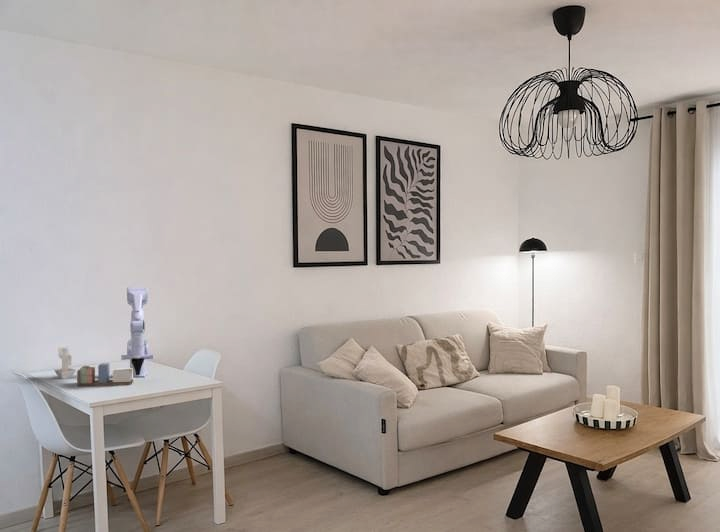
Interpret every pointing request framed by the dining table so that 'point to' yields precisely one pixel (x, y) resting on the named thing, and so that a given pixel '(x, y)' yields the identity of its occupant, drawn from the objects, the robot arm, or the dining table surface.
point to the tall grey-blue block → (104, 373)
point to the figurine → (65, 364)
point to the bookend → (123, 375)
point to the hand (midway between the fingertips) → (137, 374)
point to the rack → (93, 378)
